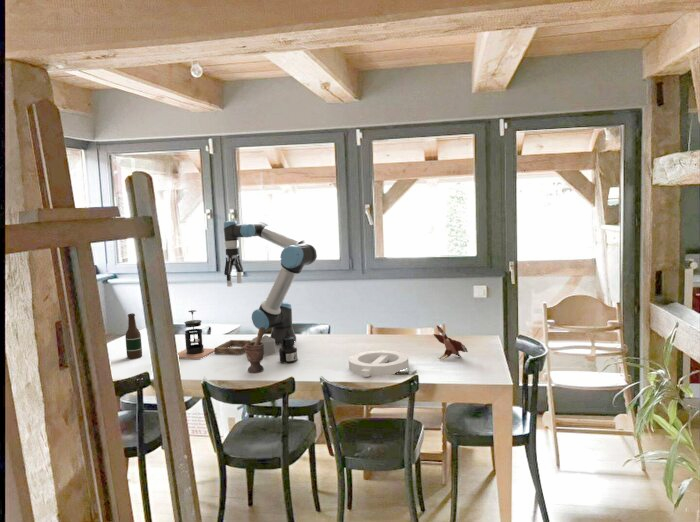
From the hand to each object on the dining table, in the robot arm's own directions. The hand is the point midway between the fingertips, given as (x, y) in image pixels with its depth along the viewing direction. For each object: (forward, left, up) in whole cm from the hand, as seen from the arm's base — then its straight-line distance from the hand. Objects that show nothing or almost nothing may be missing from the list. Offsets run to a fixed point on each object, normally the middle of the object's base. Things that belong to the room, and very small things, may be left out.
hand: (234, 284), depth 326 cm
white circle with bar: (-92, +39, -35) cm, 106 cm away
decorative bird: (-123, +22, -35) cm, 130 cm away
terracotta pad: (+14, +26, -34) cm, 45 cm away
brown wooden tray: (-5, +14, -34) cm, 37 cm away
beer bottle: (+45, +35, -35) cm, 66 cm away
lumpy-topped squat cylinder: (-24, +19, -35) cm, 46 cm away
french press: (+14, +25, -34) cm, 44 cm away
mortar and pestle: (-34, +50, -35) cm, 70 cm away
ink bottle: (-44, +34, -35) cm, 66 cm away
